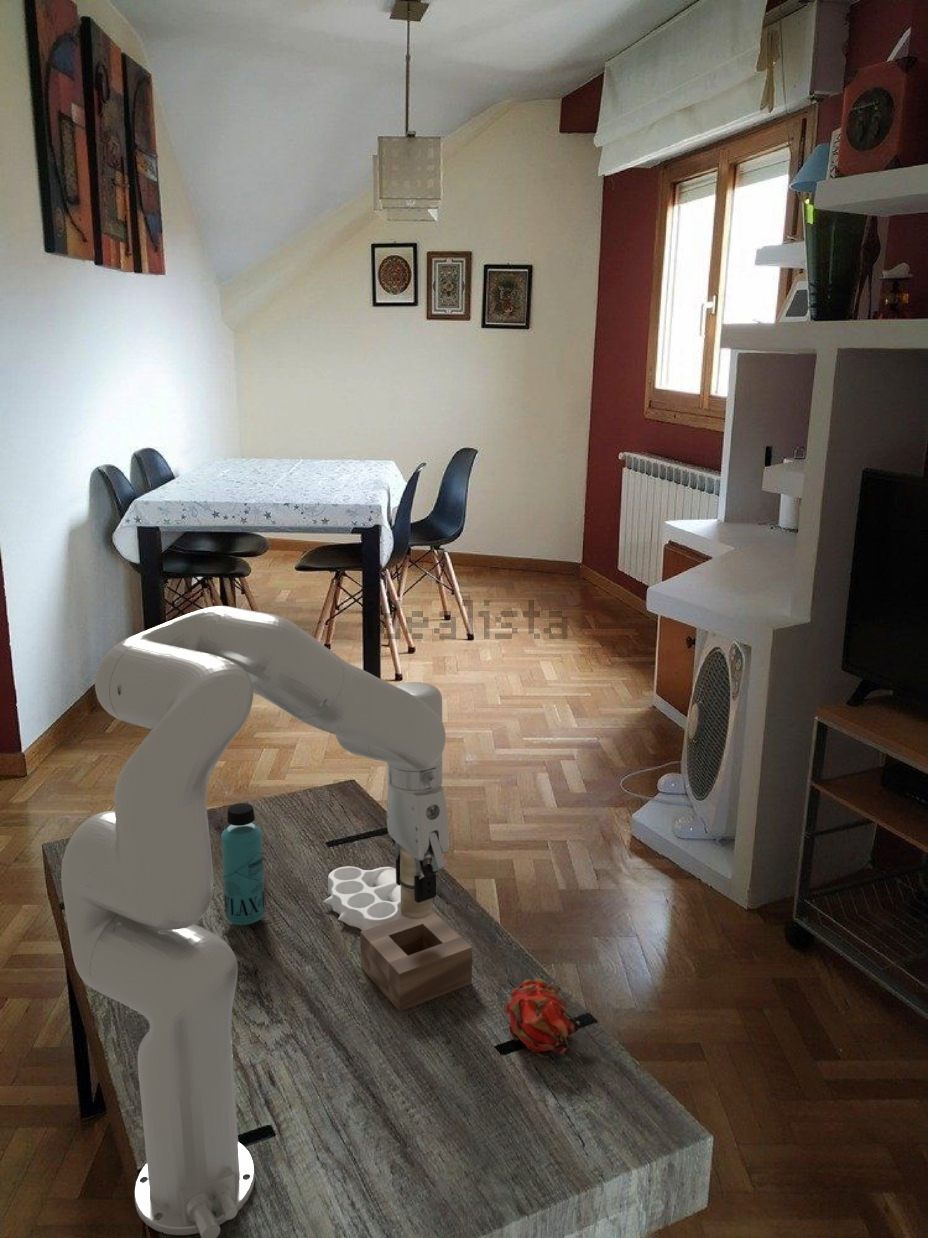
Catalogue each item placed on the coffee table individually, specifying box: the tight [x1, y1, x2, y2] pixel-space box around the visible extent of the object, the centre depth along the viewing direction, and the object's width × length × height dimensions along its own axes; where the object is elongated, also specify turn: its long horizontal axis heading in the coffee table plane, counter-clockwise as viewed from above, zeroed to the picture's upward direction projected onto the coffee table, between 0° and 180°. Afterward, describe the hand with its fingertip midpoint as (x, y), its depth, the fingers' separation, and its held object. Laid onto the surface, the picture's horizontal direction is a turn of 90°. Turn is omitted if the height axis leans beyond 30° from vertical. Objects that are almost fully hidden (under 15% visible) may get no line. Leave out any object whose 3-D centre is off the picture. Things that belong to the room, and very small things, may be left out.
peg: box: [400, 846, 433, 919], centre depth 140 cm, size 5×5×10 cm
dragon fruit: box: [503, 977, 581, 1059], centre depth 130 cm, size 8×8×12 cm
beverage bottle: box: [220, 802, 267, 926], centre depth 154 cm, size 6×7×20 cm
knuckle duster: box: [322, 865, 405, 931], centre depth 162 cm, size 3×18×15 cm
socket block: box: [359, 910, 473, 1012], centre depth 144 cm, size 12×12×6 cm
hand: (415, 889), depth 141 cm, fingers closed on peg, 4 cm apart
